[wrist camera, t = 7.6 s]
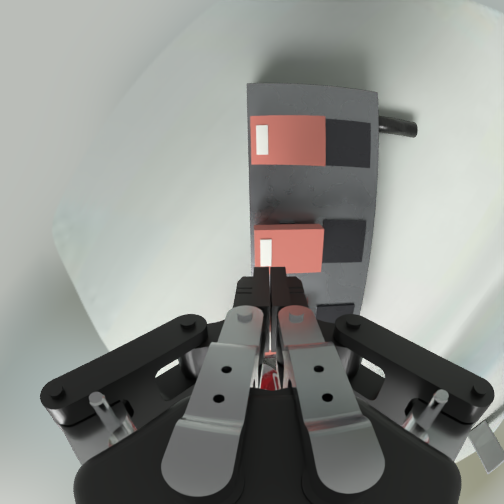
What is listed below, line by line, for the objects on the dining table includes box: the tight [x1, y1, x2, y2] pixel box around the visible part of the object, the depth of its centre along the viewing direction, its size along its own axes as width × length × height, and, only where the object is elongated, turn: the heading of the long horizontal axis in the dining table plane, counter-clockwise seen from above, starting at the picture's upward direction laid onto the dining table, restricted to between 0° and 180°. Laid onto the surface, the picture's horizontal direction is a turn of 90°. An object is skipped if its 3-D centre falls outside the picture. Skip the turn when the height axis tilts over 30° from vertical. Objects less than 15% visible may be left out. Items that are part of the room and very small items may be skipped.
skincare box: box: [468, 421, 504, 474], centre depth 34 cm, size 8×7×16 cm
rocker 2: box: [254, 224, 324, 274], centre depth 18 cm, size 4×3×1 cm
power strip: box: [247, 83, 417, 358], centre depth 21 cm, size 14×22×4 cm, turn 1°
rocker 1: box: [250, 115, 326, 166], centre depth 15 cm, size 4×3×1 cm
